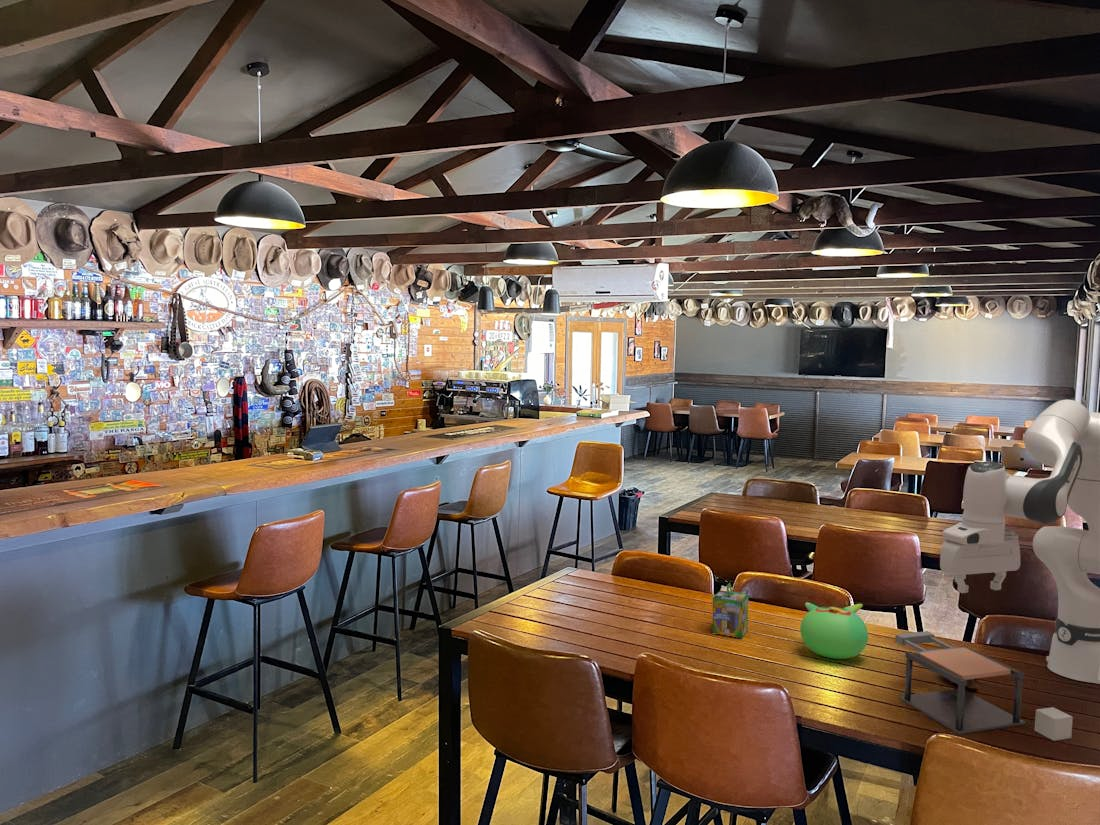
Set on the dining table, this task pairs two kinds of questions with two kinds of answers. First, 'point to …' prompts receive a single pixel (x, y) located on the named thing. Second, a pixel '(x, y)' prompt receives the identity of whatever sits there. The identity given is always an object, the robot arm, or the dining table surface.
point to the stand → (961, 701)
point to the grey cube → (1053, 723)
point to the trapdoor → (953, 657)
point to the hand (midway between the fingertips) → (979, 590)
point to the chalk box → (730, 613)
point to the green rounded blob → (834, 631)
